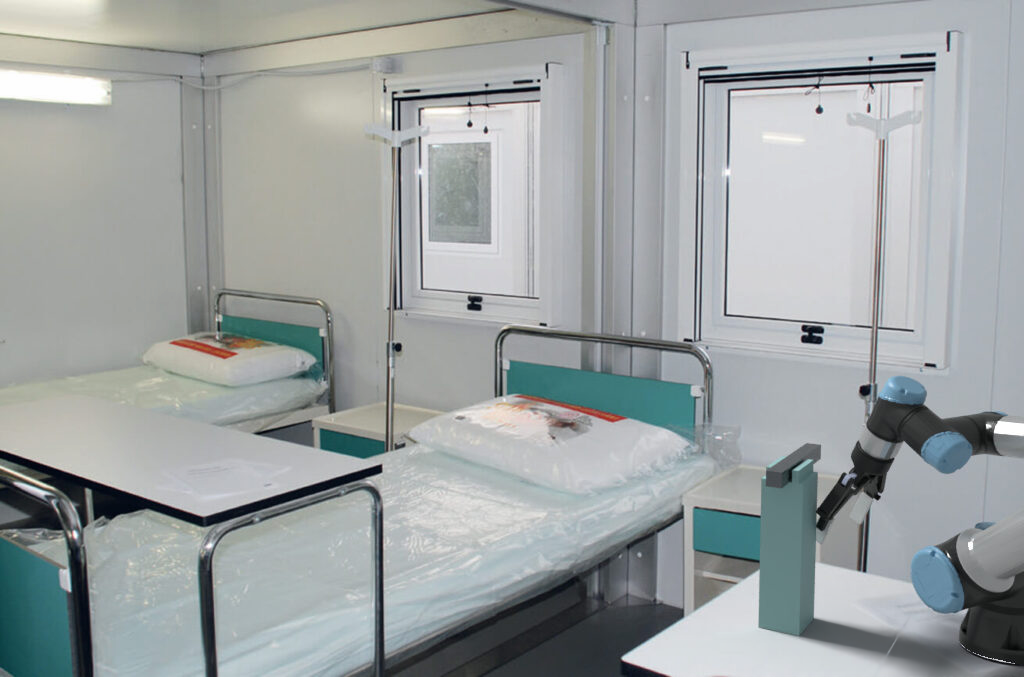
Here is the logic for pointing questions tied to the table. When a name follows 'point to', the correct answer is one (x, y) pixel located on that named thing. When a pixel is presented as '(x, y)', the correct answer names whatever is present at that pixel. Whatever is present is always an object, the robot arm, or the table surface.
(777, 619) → the notched post
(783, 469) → the steel bar
